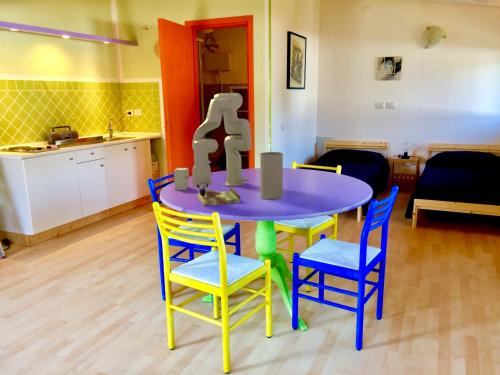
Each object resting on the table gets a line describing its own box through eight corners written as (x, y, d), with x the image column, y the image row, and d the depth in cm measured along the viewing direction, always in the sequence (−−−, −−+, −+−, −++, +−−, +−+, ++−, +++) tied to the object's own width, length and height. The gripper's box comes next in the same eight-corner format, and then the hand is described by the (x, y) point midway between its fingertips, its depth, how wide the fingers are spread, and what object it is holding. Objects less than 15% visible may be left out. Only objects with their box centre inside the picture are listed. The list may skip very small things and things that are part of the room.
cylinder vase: (268, 193, 244) (268, 151, 238) (286, 196, 237) (286, 152, 231) (256, 198, 234) (255, 154, 228) (275, 201, 227) (275, 155, 221)
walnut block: (213, 195, 233) (213, 189, 232) (215, 197, 229) (215, 191, 228) (206, 196, 232) (205, 190, 231) (207, 198, 228) (207, 192, 227)
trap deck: (231, 194, 244) (231, 187, 243) (240, 202, 226) (239, 195, 225) (197, 197, 239) (197, 190, 238) (203, 205, 220) (203, 198, 219)
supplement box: (185, 190, 257) (184, 170, 254) (174, 189, 258) (173, 169, 255) (189, 187, 264) (188, 167, 261) (178, 187, 265) (177, 167, 262)
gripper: (213, 161, 231) (214, 193, 235) (186, 163, 227) (188, 195, 231) (216, 163, 224) (217, 196, 228) (188, 165, 220) (190, 198, 224)
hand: (202, 196), depth 229 cm, fingers closed
